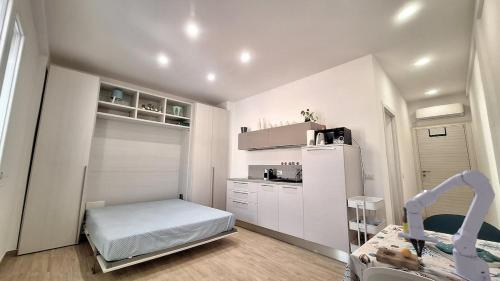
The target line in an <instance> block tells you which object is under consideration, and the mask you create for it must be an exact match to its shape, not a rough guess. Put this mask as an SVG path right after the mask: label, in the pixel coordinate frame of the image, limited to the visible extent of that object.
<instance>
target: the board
mask: <svg viewBox="0 0 500 281" xmlns="http://www.w3.org/2000/svg"><path fill="white" fill-rule="evenodd" d="M375 260H378V261H377V262H380V261H382V262H381V263H385V262H386V264H390V265H393V266H398V267H402V266H403V267H402V268H406V267H408V268H407V269H410V268H412V269H411V270H415V271H419V257H418V256H417V254H415V253H412V255H411V257H404V256H403V255H402V253H401V250H400V251H399V250H394V249H389V248H383V247H379V248H378V249H377V252H376V253H375Z"/></svg>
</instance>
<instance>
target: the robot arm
mask: <svg viewBox="0 0 500 281" xmlns="http://www.w3.org/2000/svg"><path fill="white" fill-rule="evenodd" d="M463 186H465V187H466V186H469V187H470V189H471V190H472V191H473V192H474V193H475V195H474V197H473V199H472V201H471V204H470V206H469V208H468V211H467V213H466V215H465V218H464V219H463V223H462V225H461V227H460V228H459V229H458V230H457V232H456V233H454V234H452V236H451V238H450V239H451V242H452V244H453V248H452V249H451V250H452V255H453V256H452V257H453V262H454V268H455V269H454V270H453V269H452V270H449V272H450V273H452V274H454V275H456V276H458V277H460V278H461V279H464V280H466V281H493V279H491V273H490V267H489V265H488V262H487V261H486V260H484V259H482V258H481V257H479V256H478V253H477V247H476V246H477V245H476V244H477V242H478V234H479V232H480V230H481V228H482V225H483V223H484V221H485V219H486V217H487V215H488V213H489V210H490V208H491V207H492V204H493V203H494V202H493V201H494V199H495V198H496V192H495V191H494V189H493V186H492V183H491V181H490V179H489V178H488V177H487V176H486V175H485V174H484V173H483V172H481V171H479V170H475V169H466V170H463V171H461V172H460V173H457V174H454V175H452V176H450V177H449V178H447V179H446V180H444V181H443V182H442V183H440V184H438V185H437V186H436V187H434V188H433V189H424V190H423V189H422V190H420V191H419V192H420V193H418V194H417V195H415V196H411V197H410V199H407V201H406V202H405V205H404V207H406V209H407V221H408V229H409V233H403V232H397V237H398V238H399V239H404V238H407V239H410V241H409V242H410V244H411V245H412V246H413V248H414V250H415V252H416V255H417V256H418V258H423V257H422V256H423V250H424V248H425V245H426V243H433V244H436V245H439V238H437V237H433V236H427V235H425V234H426V233H425V228H424V227H425V226H424V222H423V216H422V208H423V209H424V208H427V207H428V206H430V205H432V204H434V203H435V202H437V201H438V197H439V196H440V195H442V194H444V193H446V192H447V191H448V192H449V190H452V189H453V188H456V187H463Z"/></svg>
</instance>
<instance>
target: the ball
mask: <svg viewBox="0 0 500 281" xmlns="http://www.w3.org/2000/svg"><path fill="white" fill-rule="evenodd" d="M400 252H401V253H402V255H403V256H404V257H411V255H412V254H413V253H412V252H411V250H410V249H409V248H407V247H404V248H402V249H400Z"/></svg>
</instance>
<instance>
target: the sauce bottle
mask: <svg viewBox="0 0 500 281" xmlns="http://www.w3.org/2000/svg"><path fill="white" fill-rule="evenodd" d="M402 209H403V215H402V217H401V219H402V220H401V221H402V222H401V223H402V230H403V231H402V233H409V229H408V221H407V209H406V207H405V206H403V207H402ZM403 239H404V240H405V241H407V242H410V239H407V238H403Z"/></svg>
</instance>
